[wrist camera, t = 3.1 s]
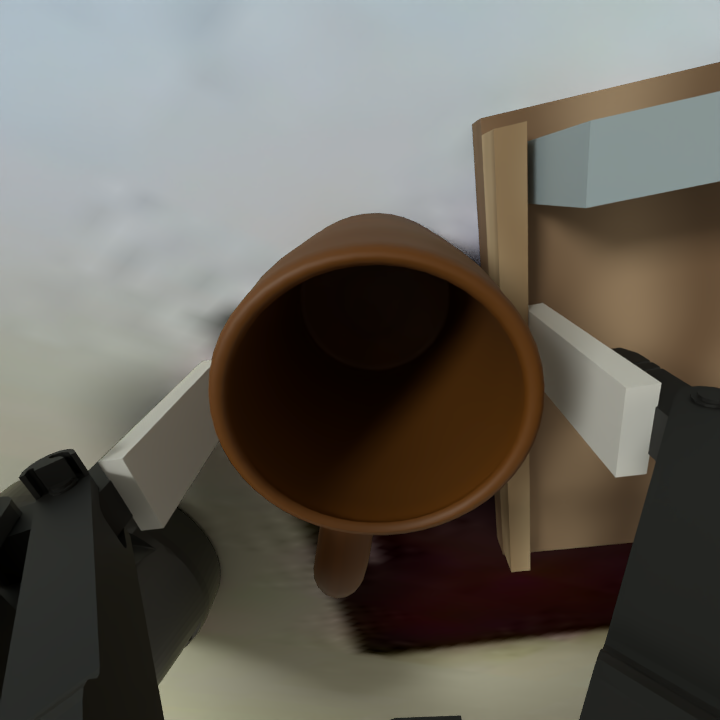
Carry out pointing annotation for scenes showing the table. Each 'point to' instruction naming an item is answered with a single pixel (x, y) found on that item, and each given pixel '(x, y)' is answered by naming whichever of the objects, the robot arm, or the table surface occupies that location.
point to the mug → (375, 387)
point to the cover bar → (628, 155)
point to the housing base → (596, 302)
